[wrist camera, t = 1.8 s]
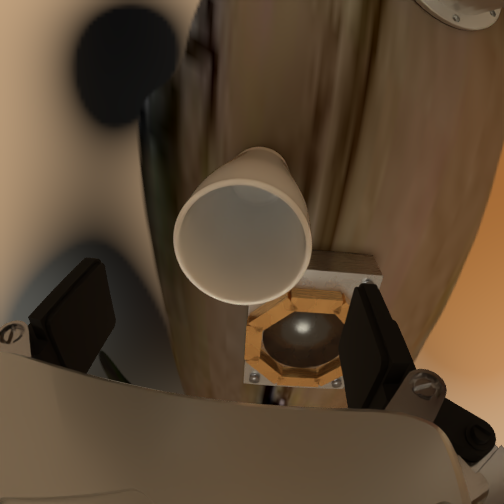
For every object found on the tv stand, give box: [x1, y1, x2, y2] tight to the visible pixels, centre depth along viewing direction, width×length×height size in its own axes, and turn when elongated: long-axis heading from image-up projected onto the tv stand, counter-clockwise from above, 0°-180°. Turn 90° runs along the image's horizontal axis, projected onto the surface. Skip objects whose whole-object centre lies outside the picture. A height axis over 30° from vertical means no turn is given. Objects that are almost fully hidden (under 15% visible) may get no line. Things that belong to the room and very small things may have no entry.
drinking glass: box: [173, 147, 312, 305], centre depth 21 cm, size 7×7×15 cm
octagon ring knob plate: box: [244, 250, 383, 389], centre depth 32 cm, size 16×12×6 cm
